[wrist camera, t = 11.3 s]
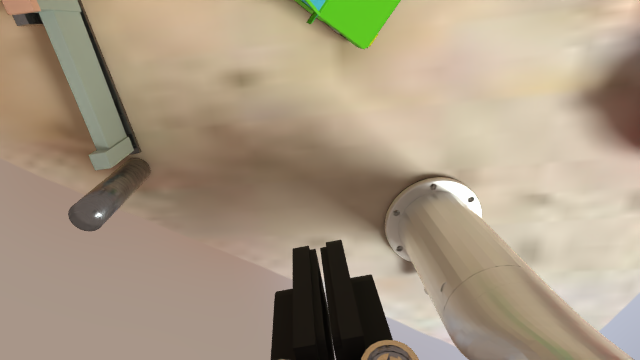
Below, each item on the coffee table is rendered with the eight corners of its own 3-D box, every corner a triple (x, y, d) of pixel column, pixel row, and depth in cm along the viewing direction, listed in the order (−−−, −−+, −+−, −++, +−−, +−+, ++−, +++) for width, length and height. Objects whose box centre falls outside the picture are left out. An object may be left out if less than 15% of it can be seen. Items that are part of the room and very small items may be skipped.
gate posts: (153, 178, 41) (108, 228, 30) (118, 184, 41) (61, 236, 30) (62, -51, 31) (-47, -88, 21) (16, -43, 31) (-115, -76, 21)
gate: (135, 150, 38) (104, 174, 32) (117, 152, 38) (82, 178, 32) (75, -11, 32) (21, -20, 25) (54, -8, 32) (-6, -16, 25)
